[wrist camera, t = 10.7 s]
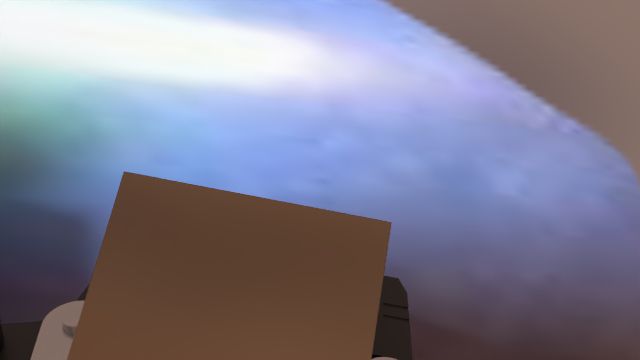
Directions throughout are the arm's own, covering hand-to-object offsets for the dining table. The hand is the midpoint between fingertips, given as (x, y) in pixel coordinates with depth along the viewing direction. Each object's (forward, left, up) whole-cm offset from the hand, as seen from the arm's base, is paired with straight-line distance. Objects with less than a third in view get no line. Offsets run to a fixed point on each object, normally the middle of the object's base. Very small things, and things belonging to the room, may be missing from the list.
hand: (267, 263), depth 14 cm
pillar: (-1, -1, -4) cm, 5 cm away
